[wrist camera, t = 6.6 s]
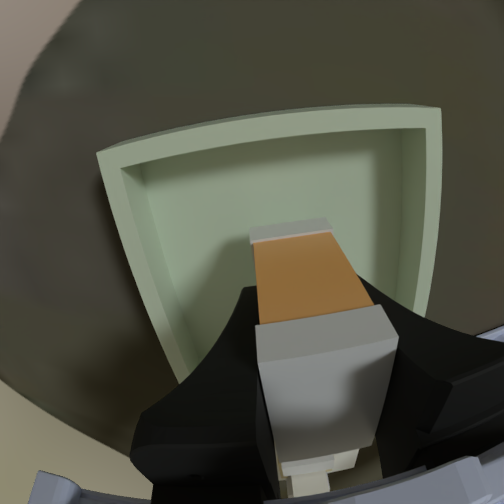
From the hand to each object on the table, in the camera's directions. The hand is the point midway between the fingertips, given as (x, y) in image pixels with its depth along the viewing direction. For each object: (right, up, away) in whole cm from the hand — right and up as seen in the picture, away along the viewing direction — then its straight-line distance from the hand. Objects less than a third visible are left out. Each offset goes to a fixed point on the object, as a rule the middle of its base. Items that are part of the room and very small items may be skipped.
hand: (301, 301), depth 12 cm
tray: (0, +2, +4) cm, 4 cm away
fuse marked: (0, +1, +2) cm, 2 cm away
